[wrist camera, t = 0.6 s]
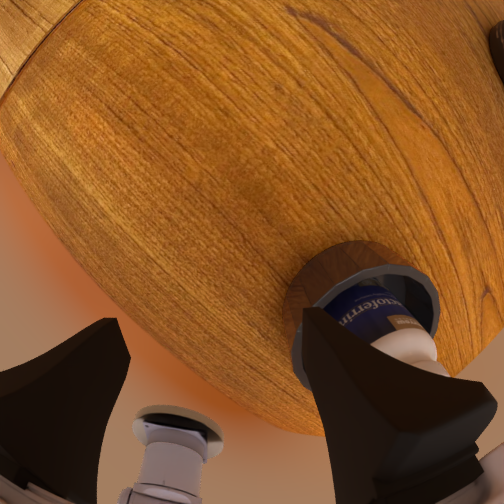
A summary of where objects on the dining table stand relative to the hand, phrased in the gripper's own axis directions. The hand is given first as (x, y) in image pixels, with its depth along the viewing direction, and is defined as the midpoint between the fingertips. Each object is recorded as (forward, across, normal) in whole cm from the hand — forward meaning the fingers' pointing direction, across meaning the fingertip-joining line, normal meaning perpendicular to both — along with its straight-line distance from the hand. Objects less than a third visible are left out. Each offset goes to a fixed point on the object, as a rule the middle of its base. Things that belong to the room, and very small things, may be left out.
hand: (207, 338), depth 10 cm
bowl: (+8, -9, +4) cm, 13 cm away
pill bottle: (+8, -9, +4) cm, 13 cm away
